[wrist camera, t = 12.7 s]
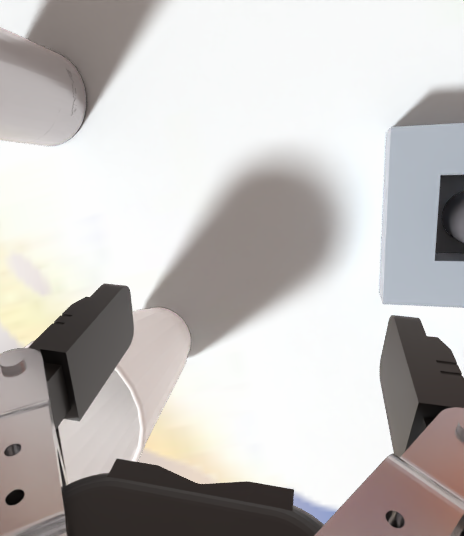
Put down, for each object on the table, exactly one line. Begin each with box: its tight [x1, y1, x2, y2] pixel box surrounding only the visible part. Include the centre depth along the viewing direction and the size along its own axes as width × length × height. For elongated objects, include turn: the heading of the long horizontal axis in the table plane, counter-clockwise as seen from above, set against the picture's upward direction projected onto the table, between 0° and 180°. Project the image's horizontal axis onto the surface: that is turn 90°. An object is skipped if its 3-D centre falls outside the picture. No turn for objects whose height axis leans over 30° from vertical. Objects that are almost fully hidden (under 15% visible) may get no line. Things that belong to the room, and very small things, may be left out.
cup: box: [24, 307, 191, 484], centre depth 38 cm, size 12×12×16 cm
